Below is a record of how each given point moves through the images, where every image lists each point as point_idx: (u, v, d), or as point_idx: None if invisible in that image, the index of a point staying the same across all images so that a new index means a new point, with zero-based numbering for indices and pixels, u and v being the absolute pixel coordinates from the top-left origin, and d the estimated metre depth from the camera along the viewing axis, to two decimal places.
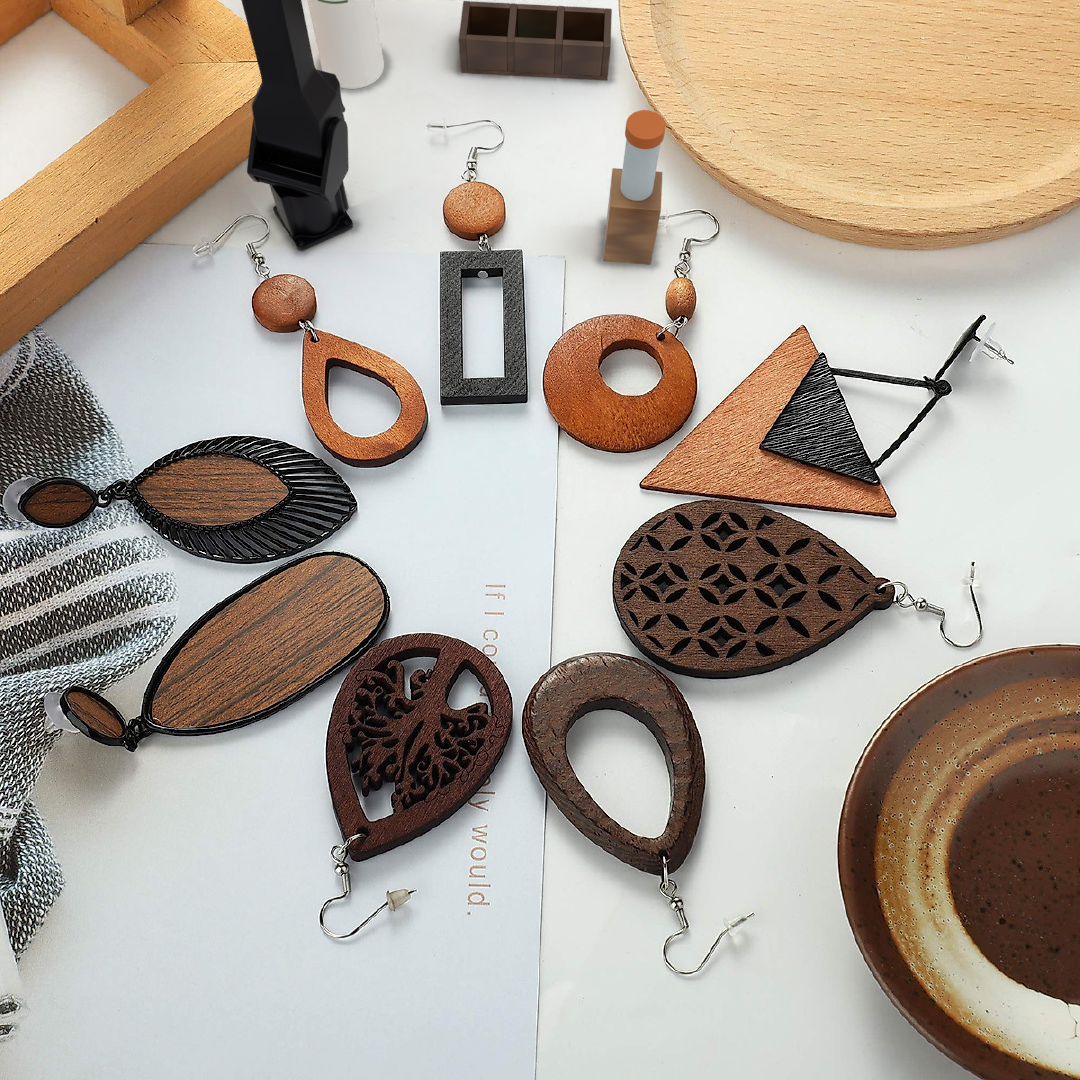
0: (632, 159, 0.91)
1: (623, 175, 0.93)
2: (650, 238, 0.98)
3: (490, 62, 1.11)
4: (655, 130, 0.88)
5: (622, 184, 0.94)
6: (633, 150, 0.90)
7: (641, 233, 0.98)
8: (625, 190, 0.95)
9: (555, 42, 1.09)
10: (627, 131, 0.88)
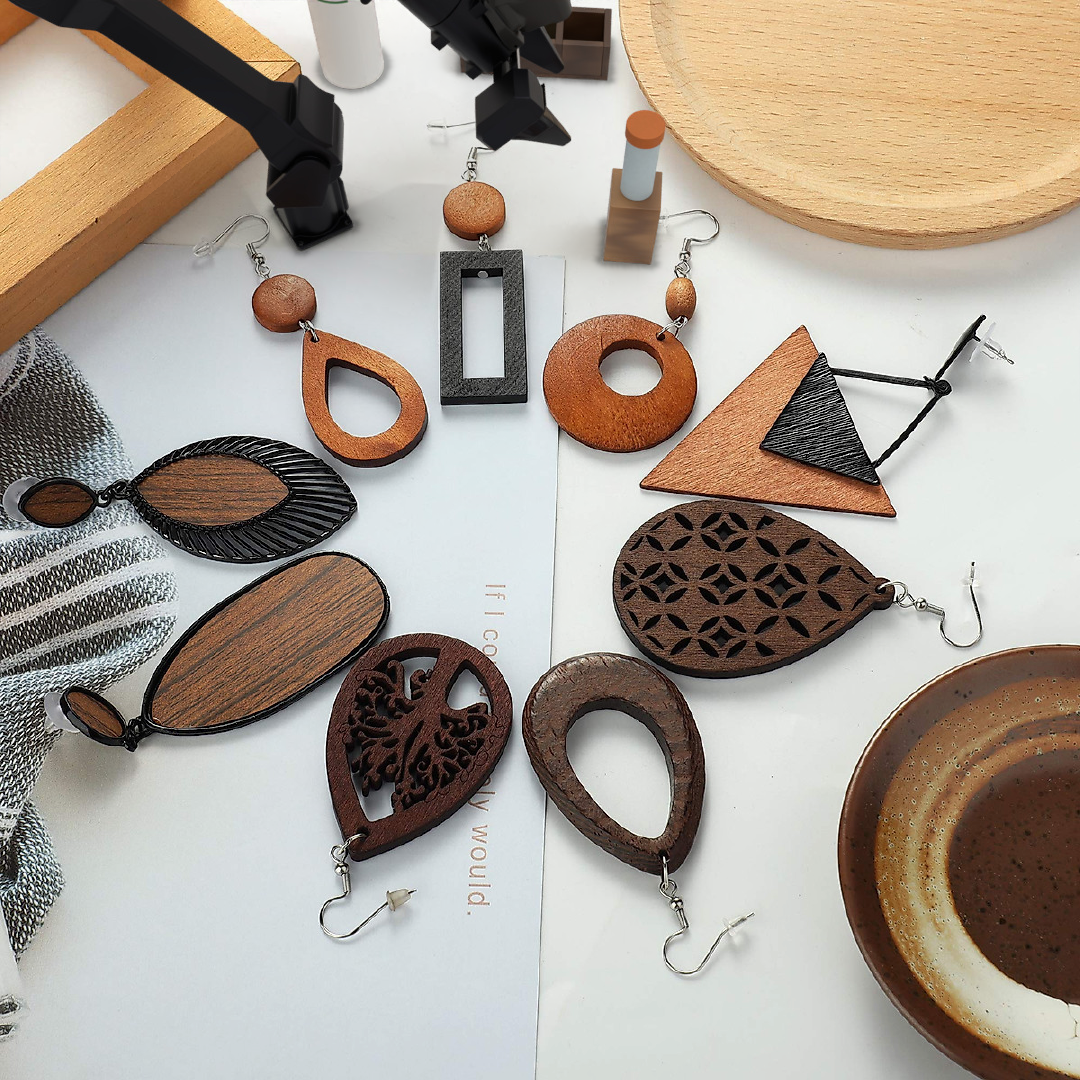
0: (632, 159, 0.91)
1: (623, 175, 0.93)
2: (650, 238, 0.98)
3: None
4: (655, 130, 0.88)
5: (622, 184, 0.94)
6: (633, 150, 0.90)
7: (641, 233, 0.98)
8: (625, 190, 0.95)
9: (555, 42, 1.09)
10: (627, 131, 0.88)
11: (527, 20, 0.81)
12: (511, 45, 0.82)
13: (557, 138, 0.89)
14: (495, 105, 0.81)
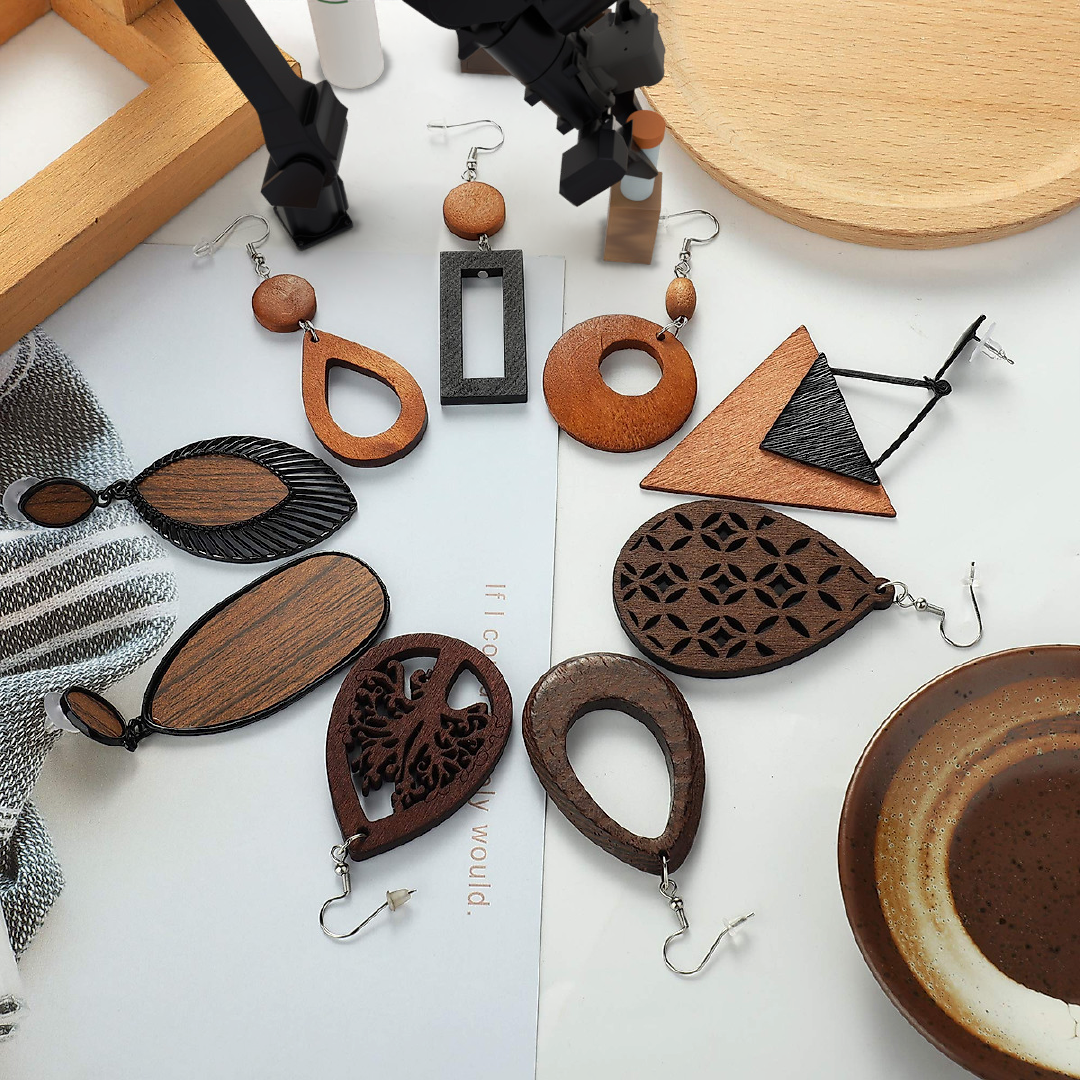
0: None
1: None
2: (650, 238, 0.98)
3: (490, 62, 1.11)
4: (655, 130, 0.88)
5: (622, 184, 0.94)
6: None
7: (641, 233, 0.98)
8: (625, 190, 0.95)
9: None
10: None
11: (618, 83, 0.82)
12: (602, 105, 0.83)
13: (644, 172, 0.91)
14: (579, 164, 0.83)
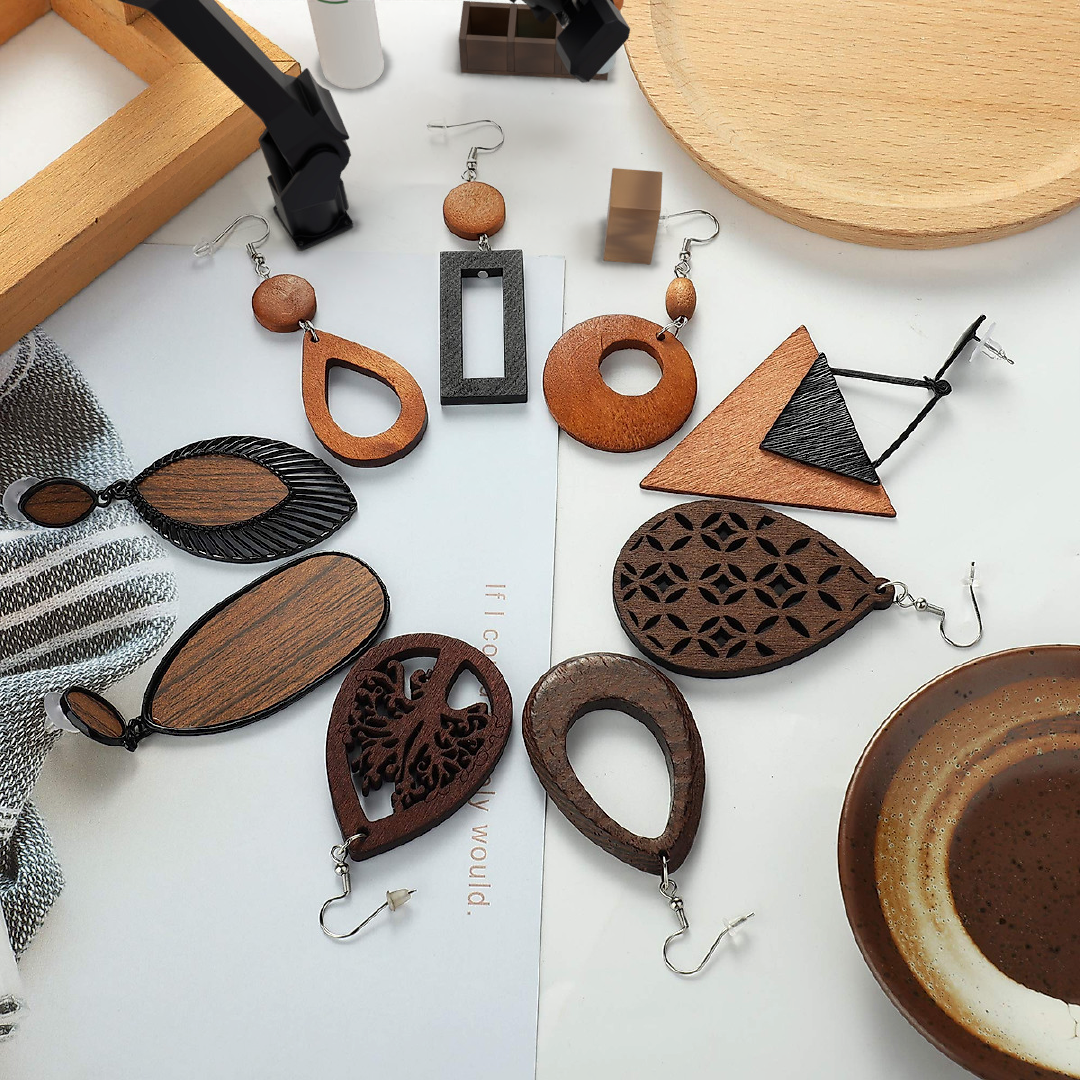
0: None
1: None
2: (650, 238, 0.98)
3: (490, 62, 1.11)
4: None
5: None
6: None
7: (641, 233, 0.98)
8: None
9: (555, 42, 1.09)
10: None
11: None
12: None
13: None
14: (585, 37, 0.86)
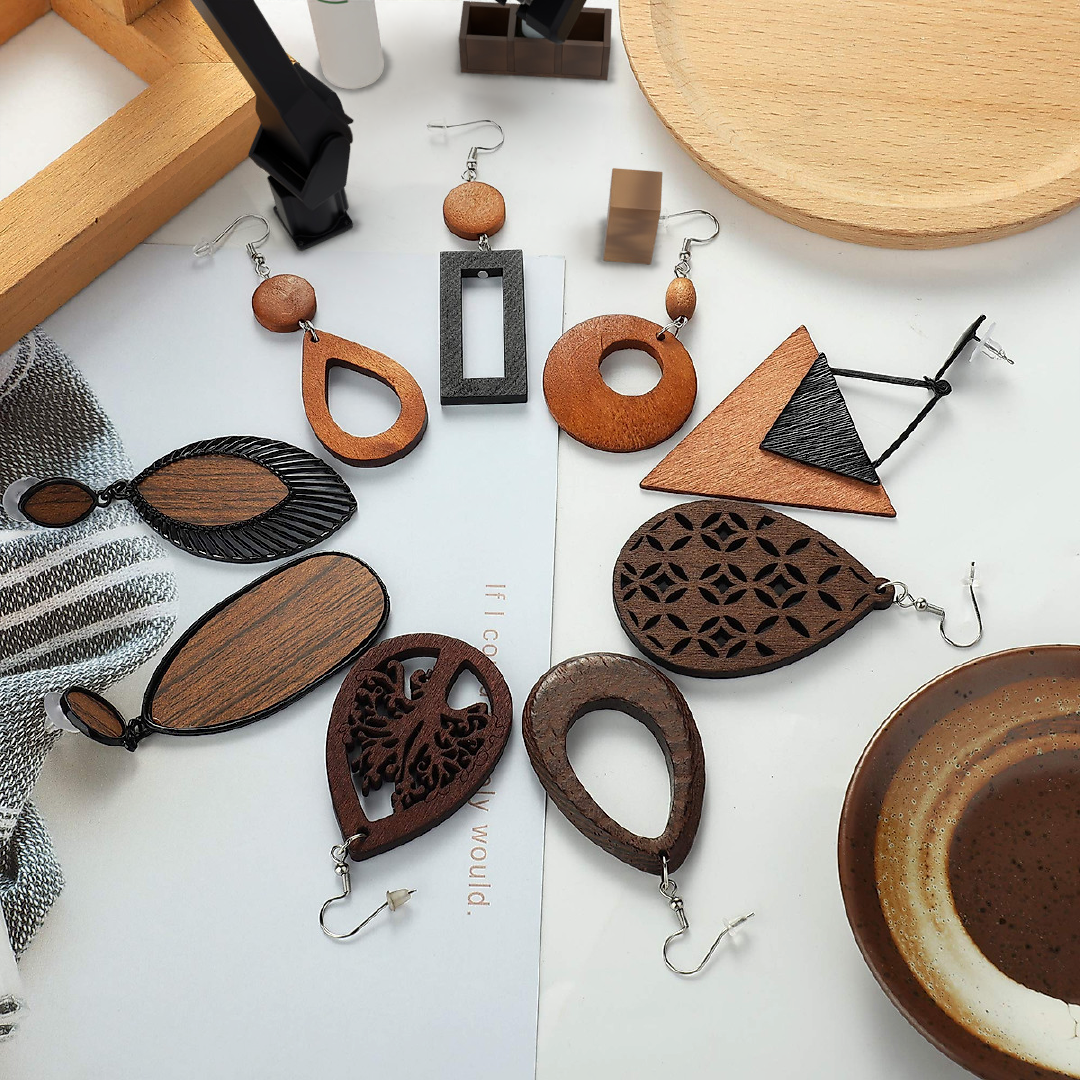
0: None
1: None
2: (650, 238, 0.98)
3: (490, 62, 1.11)
4: None
5: (531, 29, 1.09)
6: None
7: (641, 233, 0.98)
8: (536, 33, 1.09)
9: None
10: None
11: None
12: None
13: None
14: (556, 3, 0.97)
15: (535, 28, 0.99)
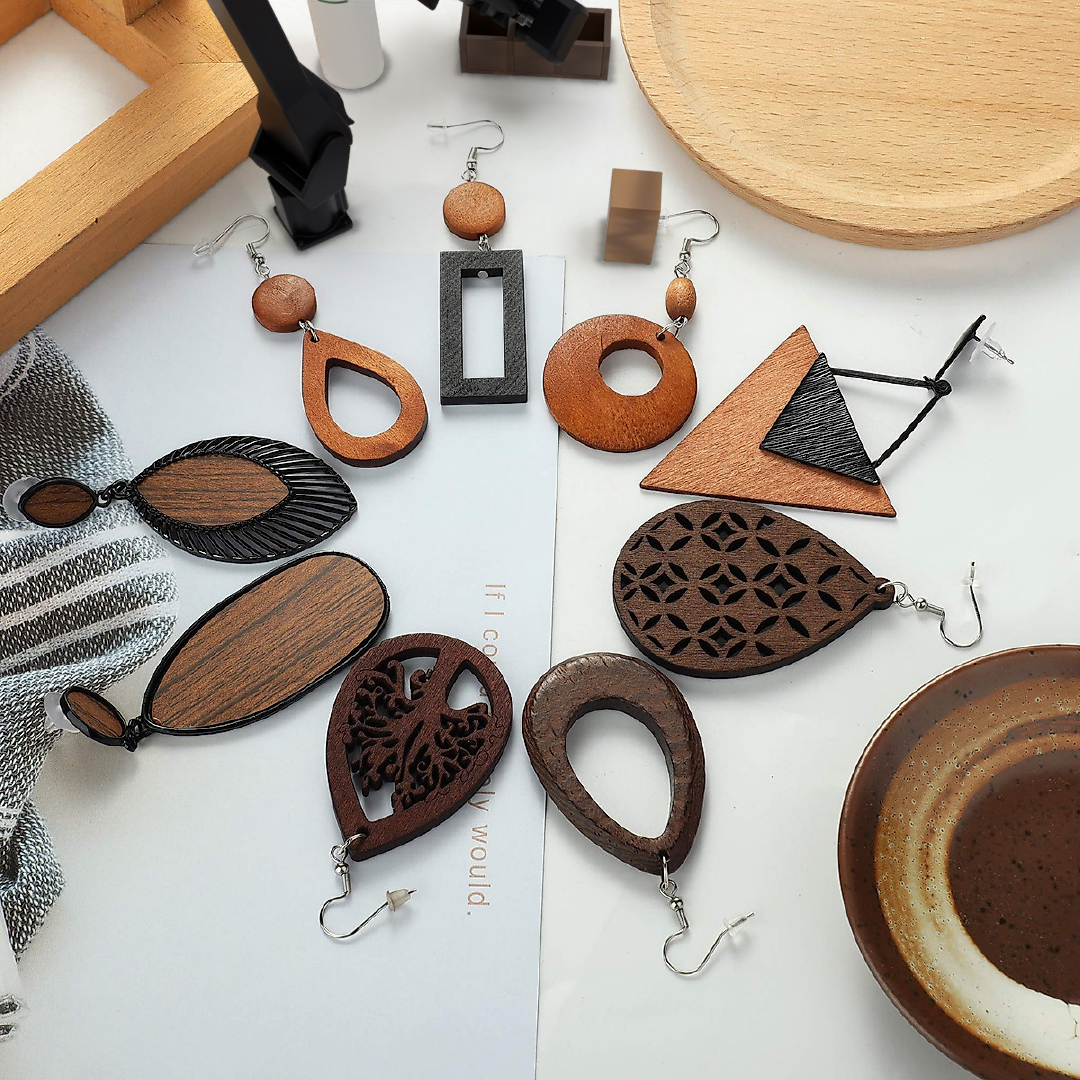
0: None
1: None
2: (650, 238, 0.98)
3: (490, 62, 1.11)
4: None
5: None
6: None
7: (641, 233, 0.98)
8: None
9: None
10: None
11: None
12: None
13: None
14: (555, 26, 0.99)
15: (535, 49, 1.01)
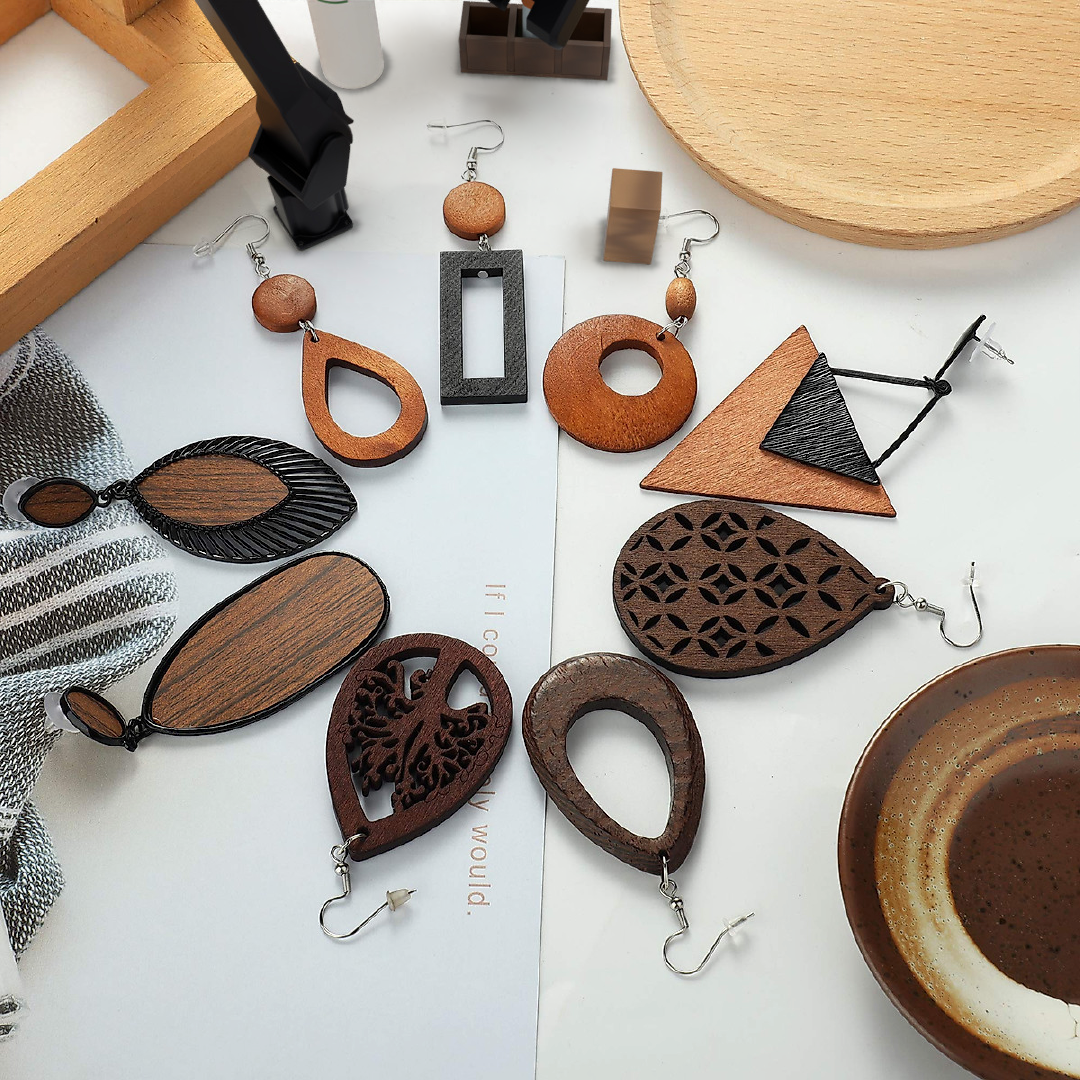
0: None
1: None
2: (650, 238, 0.98)
3: (490, 62, 1.11)
4: None
5: None
6: None
7: (641, 233, 0.98)
8: None
9: None
10: (532, 2, 1.05)
11: None
12: None
13: None
14: (556, 9, 0.97)
15: (535, 33, 1.00)
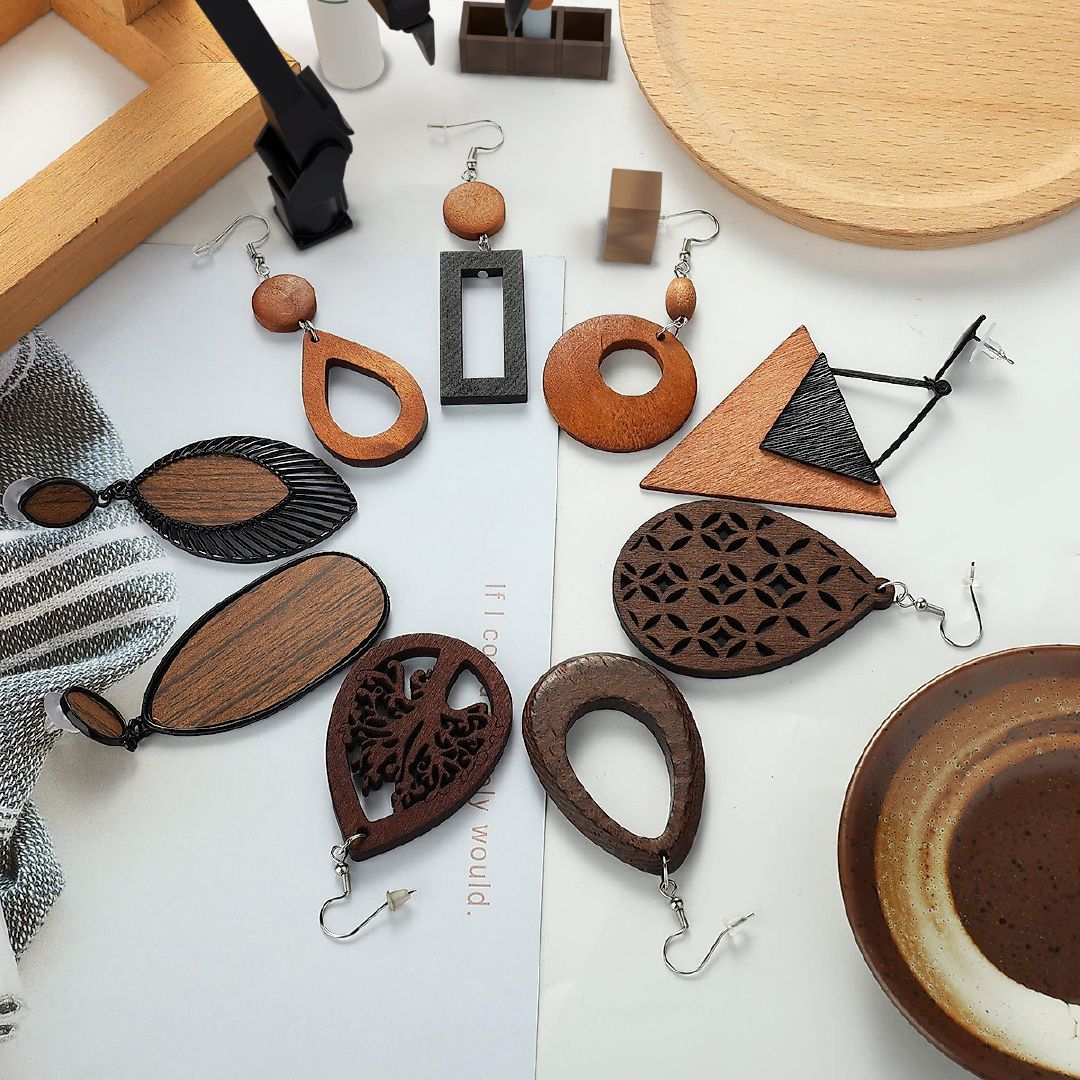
0: (540, 23, 1.08)
1: None
2: (650, 238, 0.98)
3: (490, 62, 1.11)
4: None
5: None
6: (540, 14, 1.07)
7: (641, 233, 0.98)
8: None
9: (555, 42, 1.09)
10: (532, 2, 1.05)
11: None
12: None
13: None
14: None
15: None
